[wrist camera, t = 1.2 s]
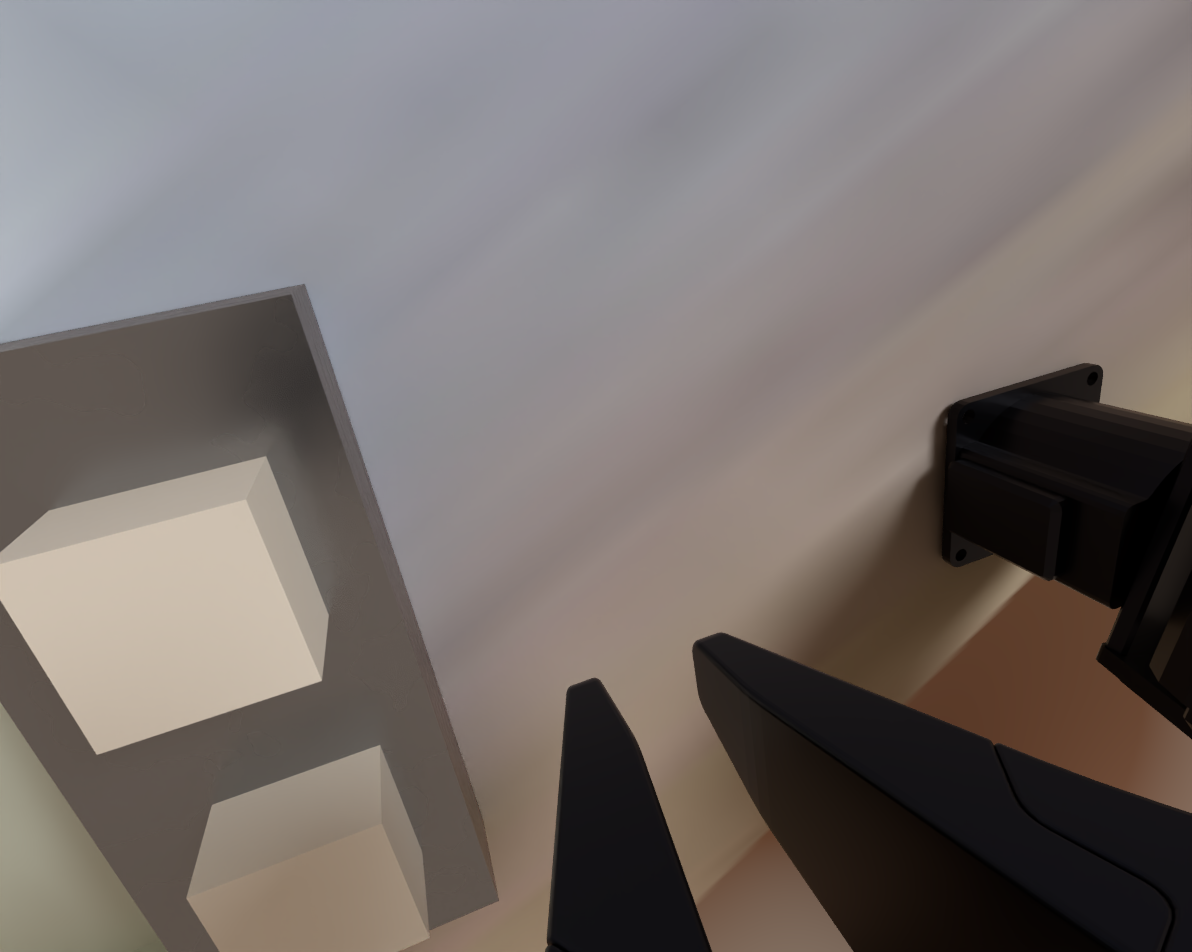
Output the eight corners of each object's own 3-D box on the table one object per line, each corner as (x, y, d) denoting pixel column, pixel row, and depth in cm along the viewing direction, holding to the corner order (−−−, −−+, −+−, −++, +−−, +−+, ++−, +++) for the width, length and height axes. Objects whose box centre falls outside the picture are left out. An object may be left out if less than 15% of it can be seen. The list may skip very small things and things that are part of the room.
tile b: (380, 744, 17) (381, 822, 15) (422, 852, 18) (430, 938, 16) (211, 804, 16) (186, 898, 14) (271, 912, 17) (257, 1012, 15)
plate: (304, 283, 15) (290, 294, 13) (483, 821, 22) (498, 900, 20) (-95, 362, 14) (-208, 393, 11) (235, 919, 21) (215, 1021, 18)
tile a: (265, 456, 14) (245, 499, 11) (328, 615, 15) (321, 680, 13) (48, 510, 13) (-19, 569, 10) (139, 673, 14) (96, 754, 12)
